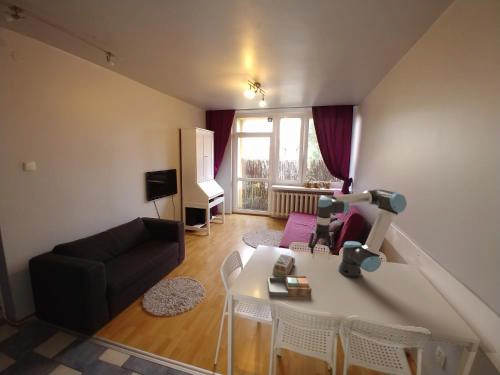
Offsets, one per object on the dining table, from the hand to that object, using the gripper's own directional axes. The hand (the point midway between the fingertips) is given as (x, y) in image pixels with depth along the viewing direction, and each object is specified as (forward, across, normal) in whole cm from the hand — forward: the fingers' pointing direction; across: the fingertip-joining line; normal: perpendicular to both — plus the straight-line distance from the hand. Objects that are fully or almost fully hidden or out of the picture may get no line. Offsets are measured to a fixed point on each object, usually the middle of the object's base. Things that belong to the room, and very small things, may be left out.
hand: (320, 258), depth 139 cm
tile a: (+17, +10, 0) cm, 20 cm away
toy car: (+22, +18, -22) cm, 36 cm away
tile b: (+17, +16, 0) cm, 24 cm away
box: (+21, +26, 0) cm, 33 cm away
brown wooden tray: (+21, +13, 0) cm, 25 cm away
